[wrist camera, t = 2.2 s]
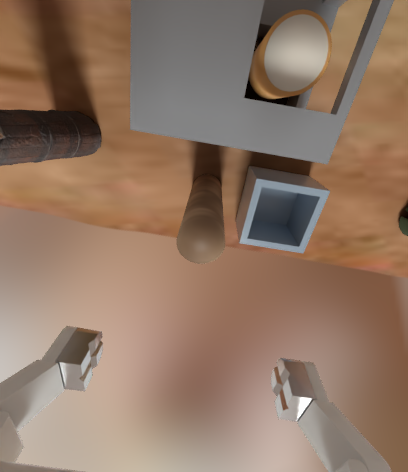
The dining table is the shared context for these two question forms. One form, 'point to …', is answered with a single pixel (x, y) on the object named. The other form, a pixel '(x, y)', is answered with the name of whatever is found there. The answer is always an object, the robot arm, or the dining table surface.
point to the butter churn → (46, 135)
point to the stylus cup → (279, 209)
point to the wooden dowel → (203, 222)
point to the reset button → (291, 55)
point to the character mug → (404, 224)
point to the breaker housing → (232, 75)
